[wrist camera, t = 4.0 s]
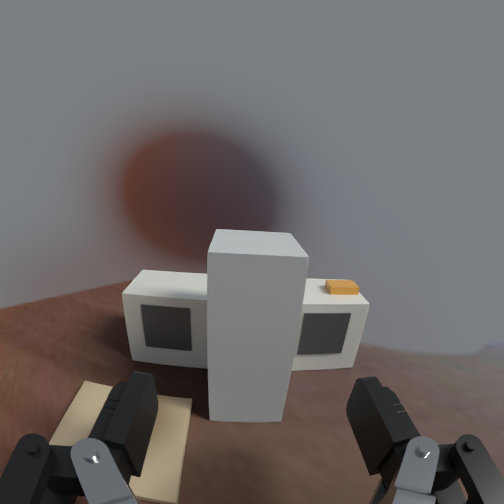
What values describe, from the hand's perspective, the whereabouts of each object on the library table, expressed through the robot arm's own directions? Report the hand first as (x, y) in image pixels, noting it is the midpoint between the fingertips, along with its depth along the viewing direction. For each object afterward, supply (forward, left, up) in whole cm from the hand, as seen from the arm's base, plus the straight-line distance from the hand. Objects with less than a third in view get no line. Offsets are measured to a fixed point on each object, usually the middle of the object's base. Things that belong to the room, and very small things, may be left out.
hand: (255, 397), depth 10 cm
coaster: (-7, +1, -6) cm, 10 cm away
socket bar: (0, +12, -6) cm, 14 cm away
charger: (0, +7, -7) cm, 9 cm away
